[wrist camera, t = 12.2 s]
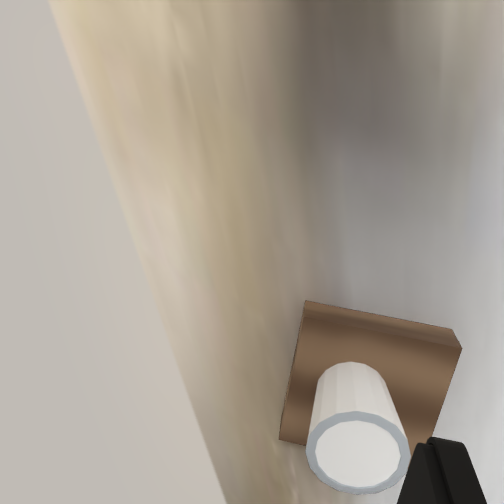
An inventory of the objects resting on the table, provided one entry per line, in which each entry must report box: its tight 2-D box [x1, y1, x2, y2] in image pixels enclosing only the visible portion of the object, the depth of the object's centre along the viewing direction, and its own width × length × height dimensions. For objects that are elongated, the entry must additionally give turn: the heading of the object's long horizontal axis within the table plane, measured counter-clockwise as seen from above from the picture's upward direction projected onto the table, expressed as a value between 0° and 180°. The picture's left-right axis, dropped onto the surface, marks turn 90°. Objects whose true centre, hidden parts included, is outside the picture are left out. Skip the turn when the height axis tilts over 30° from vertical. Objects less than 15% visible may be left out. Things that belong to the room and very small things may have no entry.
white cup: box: [305, 362, 411, 495], centre depth 34 cm, size 7×7×7 cm
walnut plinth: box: [279, 301, 462, 468], centre depth 38 cm, size 12×12×3 cm
